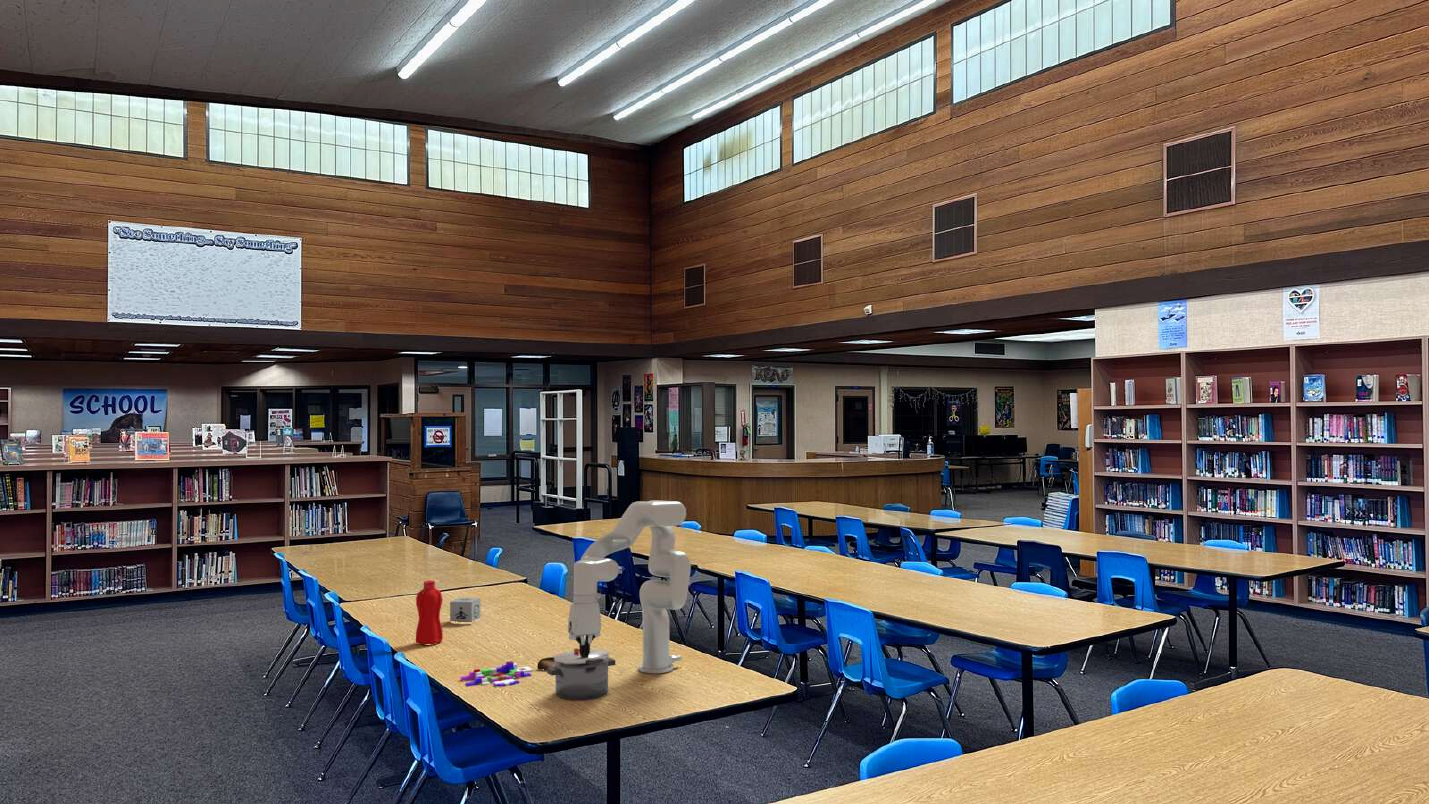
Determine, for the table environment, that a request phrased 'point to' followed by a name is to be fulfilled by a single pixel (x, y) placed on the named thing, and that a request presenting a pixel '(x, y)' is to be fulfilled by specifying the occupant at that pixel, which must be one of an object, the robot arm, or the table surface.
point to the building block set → (488, 674)
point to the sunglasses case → (546, 663)
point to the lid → (576, 658)
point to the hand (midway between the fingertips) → (584, 656)
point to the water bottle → (429, 614)
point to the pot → (581, 680)
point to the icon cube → (465, 609)
